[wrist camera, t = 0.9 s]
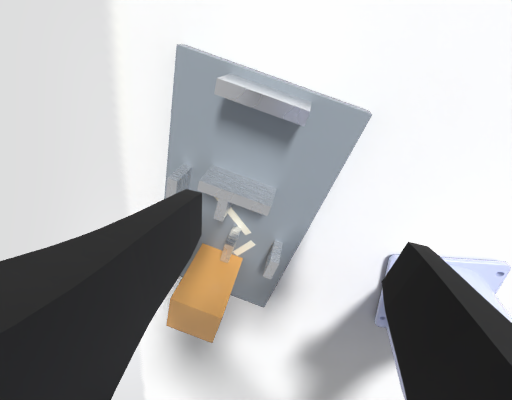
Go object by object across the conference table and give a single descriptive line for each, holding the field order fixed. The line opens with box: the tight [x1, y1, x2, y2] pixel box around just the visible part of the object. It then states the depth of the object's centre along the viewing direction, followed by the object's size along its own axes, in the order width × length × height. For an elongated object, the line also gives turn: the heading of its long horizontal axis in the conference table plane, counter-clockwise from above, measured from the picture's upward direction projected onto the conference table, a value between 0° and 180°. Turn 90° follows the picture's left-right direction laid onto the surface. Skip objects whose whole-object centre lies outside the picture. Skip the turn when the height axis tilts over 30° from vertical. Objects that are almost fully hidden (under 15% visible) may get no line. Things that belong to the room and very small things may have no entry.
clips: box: [166, 164, 283, 279], centre depth 19 cm, size 6×9×2 cm, turn 74°
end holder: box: [197, 73, 311, 216], centre depth 15 cm, size 7×5×2 cm
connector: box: [167, 243, 243, 343], centre depth 21 cm, size 4×4×6 cm
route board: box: [164, 45, 372, 307], centre depth 20 cm, size 21×12×1 cm, turn 164°
